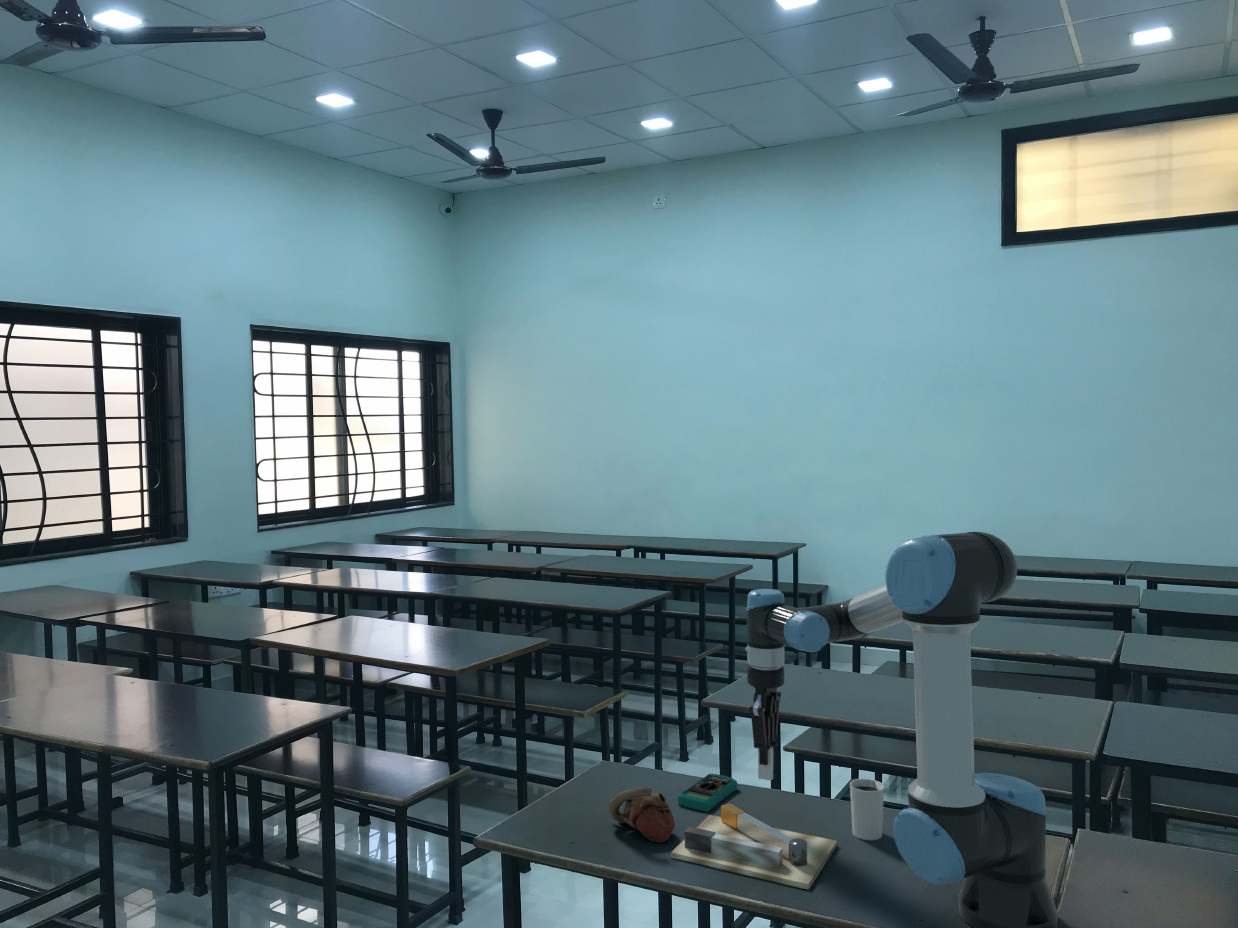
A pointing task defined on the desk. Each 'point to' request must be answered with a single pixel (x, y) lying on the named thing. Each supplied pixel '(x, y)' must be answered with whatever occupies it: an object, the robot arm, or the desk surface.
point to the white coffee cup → (867, 808)
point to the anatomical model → (644, 813)
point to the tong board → (757, 870)
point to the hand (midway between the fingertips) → (765, 777)
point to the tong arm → (765, 834)
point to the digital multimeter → (707, 792)
